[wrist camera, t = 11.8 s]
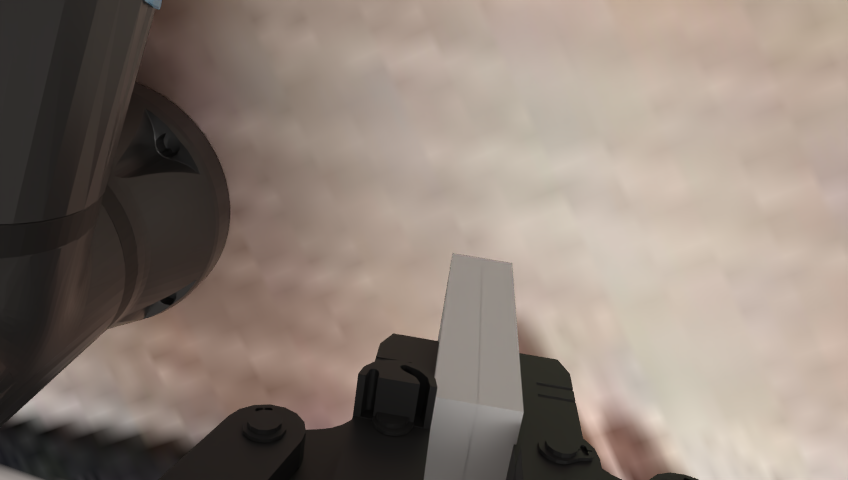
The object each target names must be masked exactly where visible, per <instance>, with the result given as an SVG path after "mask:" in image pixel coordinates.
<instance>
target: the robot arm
mask: <svg viewBox="0 0 848 480" xmlns="http://www.w3.org/2000/svg"><path fill="white" fill-rule="evenodd" d="M161 4H162V0H0V427H1V426H2V425H3V424H4V423H6V422H7V421H8V420H9V419H10V418H11V417H12V416H13V415H14V414H15V413H16V412H17V411H19V410H20V409H21V408H22V407H23V406H24V405H25V404H26V403H27V402H28V401H29V400H31V399H32V398H33V397H34V396H35V395H36V394H37V393H38V392H39V391H40V390H41V389H43V388H44V387H45V386H46V385H47V384H48V383H49V382H50V381H51V380H52V379H53V378H55V377H56V376H57V375H58V374H59V373H60V372H61V371H62V370H63V369H64V368H65V367H66V366H68V365H69V364H70V363H71V362H72V361H73V360H74V359H75V358H76V357H77V356H78V355H80V354H81V353H82V352H83V351H84V350H85V349H86V348H87V347H88V346H89V345H90V344H92V343H93V342H94V341H95V340H96V339H97V338H98V337H99V336H100V335H101V334H102V333H103V332H104V331H106V330H107V329H109V328H113V327H117V326H120V325H124V324H127V323H131V322H135V321H138V320H142V319H145V318H148V317H152V316H154V315H157V314H159V313H162V312H164V311H166V310H168V309H169V308H171V307H173V306H174V305H176V304H178V303H179V302H180V301H182V300H183V299H184V298H186V297H187V296H188V295H189V294H190V293H191V292H192V291H193V290H194V289H195V288H196V287H197V286H198V285H199V284H200V283H201V282H202V281H203V280H204V279H205V278H206V277H207V275H208V274H209V273H210V272H211V270H212V269H213V267H214V266H215V264H216V263H217V261H218V259H219V257H220V255H221V253H222V251H223V248H224V245H225V242H226V238H227V234H228V228H229V219H230V205H229V195H228V189H227V185H226V181H225V177H224V174H223V171H222V168H221V166H220V163H219V161H218V159H217V157H216V155H215V153H214V151H213V149H212V147H211V146H210V144H209V142H208V141H207V139H206V138H205V136H204V135H203V134H202V132H201V131H200V130H199V128H198V127H197V126H196V125H195V124H194V123H193V121H192V120H191V119H190V118H189V117H188V116H187V115H186V114H185V113H184V112H182V111H181V110H180V109H179V108H178V107H177V106H175V105H174V104H173V103H172V102H170V101H169V100H167V99H166V98H165V97H163V96H161V95H160V94H158V93H156V92H155V91H153V90H151V89H149V88H147V87H145V86H143V85H140V84H138V83H135V81H136V77H137V74H138V70H139V66H140V63H141V59H142V56H143V52H144V48H145V45H146V41H147V37H148V34H149V30H150V27H151V23H152V19H153V16H154V12H155V9H159V10H160V8H161ZM572 390H573V387H572V382H571V377H570V374H569V372H568V371H567V370H566V369H565V368H564V367H563V366H562V364H561V363H560V362H559V361H558V360H556V359H550V358H544V357H538V356H532V355H527V354H521V353H519V346H518V333H517V320H516V307H515V294H514V281H513V269H512V263H509V262H503V261H497V260H491V259H485V258H479V257H473V256H467V255H461V254H455V253H453V254H452V260H451V265H450V271H449V277H448V283H447V289H446V295H445V301H444V307H443V313H442V319H441V325H440V331H439V337H438V341H434V340H428V339H422V338H416V337H410V336H405V335H399V334H392V335H391V336H390V337H388V338H387V339H386V340H384V341H383V342H382V343H380V346H379V349H378V353H377V356H376V359H375V362H373V363H371V364H368V365H366V366H364V367H363V369H362V370H361V371H360V372H359V374H358V381H357V389H356V397H355V405H354V412H353V418H352V420H351V421H349V422H347V423H345V424H343V425H340V426H337V427H333V428H327V429H317V430H306V429H305V424H304V421H303V420H302V419H301V418H300V417H299V416H298V415H297V414H296V413H294V412H292V411H290V410H288V409H286V408H284V407H279V406H274V405H253V406H249V407H245V408H242V409H239V410H237V411H236V412H234V413H232V414H231V415H229V416H228V417H227V418H226V419H225V420H223V421H222V422H221V423H220V424H219V425H218V426H217V427H216V428H215V429H214V430H212V431H211V432H210V433H209V434H208V435H207V436H206V437H205V438H204V439H203V440H201V441H200V442H199V443H198V444H197V445H196V446H195V447H194V448H193V449H191V450H190V451H189V452H188V453H187V454H186V455H185V456H184V457H183V458H182V459H180V460H179V461H178V462H177V463H176V464H175V465H174V466H173V467H172V468H171V469H169V470H168V471H167V472H166V473H165V474H164V475H163V476H162V477H161V478H160V479H158V480H622V479H619V478H617V477H615V476H613V475H611V474H610V473H608V472H607V471H605V470H603V469H602V467H601V463H600V458H599V457H598V455H597V453H596V451H595V449H594V448H593V447H592V446H591V445H590V444H589V443H588V442H587V441H585V440H584V439H583V436H582V431H581V426H580V421H579V416H578V412H577V407H576V403H575V397H574V392H573V391H572ZM650 480H698V479H696V478H692V477H690V476H687V475H683V474H676V473H664V474H657V475H656V476H654V477H653V478H651V479H650Z"/></svg>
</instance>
